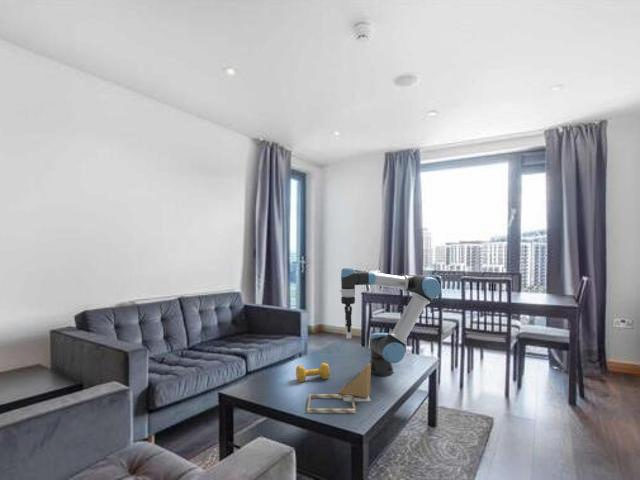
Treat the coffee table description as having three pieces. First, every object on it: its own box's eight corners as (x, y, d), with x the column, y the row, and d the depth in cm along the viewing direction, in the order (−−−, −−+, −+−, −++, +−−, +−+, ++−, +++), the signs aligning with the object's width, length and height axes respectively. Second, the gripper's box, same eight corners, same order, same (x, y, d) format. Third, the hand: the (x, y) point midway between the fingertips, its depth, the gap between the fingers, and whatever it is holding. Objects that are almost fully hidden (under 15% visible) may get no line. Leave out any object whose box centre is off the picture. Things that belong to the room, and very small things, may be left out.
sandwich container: (341, 389, 190) (342, 359, 192) (370, 393, 185) (371, 362, 187) (336, 393, 182) (337, 362, 184) (366, 397, 177) (367, 365, 179)
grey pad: (367, 391, 189) (367, 389, 189) (370, 401, 176) (370, 400, 176) (342, 390, 189) (342, 389, 189) (343, 401, 176) (343, 400, 176)
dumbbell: (298, 384, 199) (298, 369, 199) (294, 378, 208) (294, 364, 208) (331, 380, 205) (331, 365, 205) (326, 375, 214) (325, 361, 214)
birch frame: (353, 397, 181) (353, 394, 181) (355, 413, 164) (355, 409, 164) (309, 397, 182) (309, 394, 182) (306, 412, 165) (306, 409, 165)
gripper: (340, 293, 212) (341, 329, 212) (341, 299, 188) (342, 340, 187) (353, 293, 212) (353, 329, 212) (356, 299, 187) (356, 340, 187)
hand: (348, 335), depth 199 cm, fingers open, 13 cm apart
